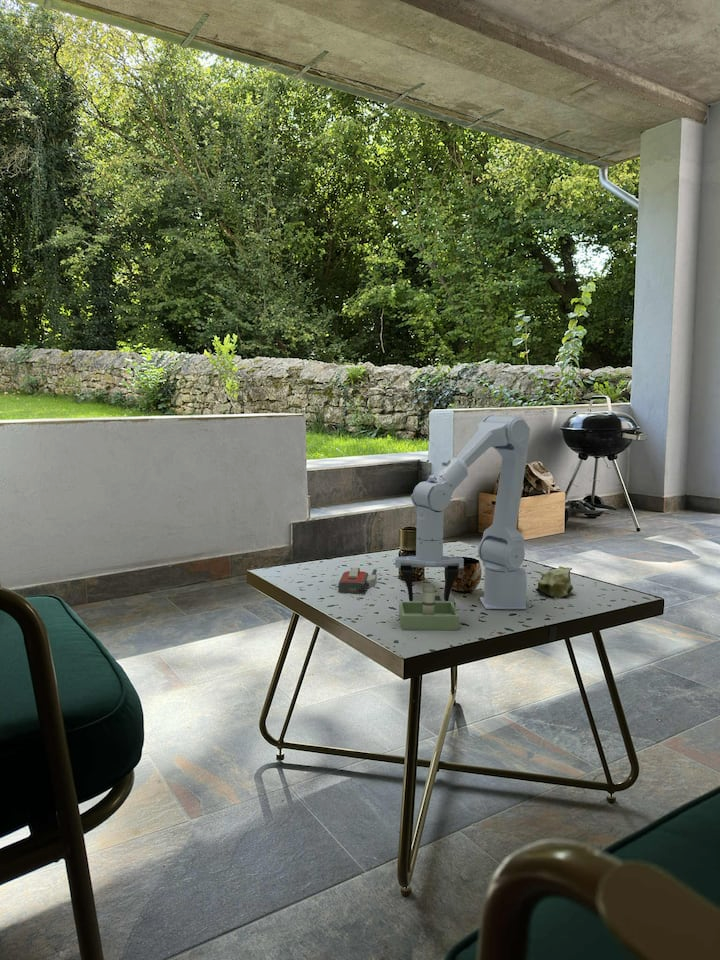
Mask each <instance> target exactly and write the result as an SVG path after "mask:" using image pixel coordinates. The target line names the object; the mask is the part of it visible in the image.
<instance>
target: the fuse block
mask: <svg viewBox="0 0 720 960" xmlns="http://www.w3.org/2000/svg"><path fill="white" fill-rule="evenodd" d="M422 601H423V593H413V601H409V600H408V602H422ZM435 602H453V603H454V605H455V608H456V605H457V603H456V601H455V598H454V596H453V593H450V595H449V601H445V599H444V593H435ZM456 609H457V608H456Z"/></svg>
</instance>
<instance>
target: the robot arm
mask: <svg viewBox="0 0 720 960" xmlns="http://www.w3.org/2000/svg"><path fill="white" fill-rule="evenodd" d="M530 434H531V427H530V426H529V425H528V423H527V421H526V420H525V419H524V418H523V417H521V416H502V415H501V416H499V415H493V414H490V415H487V416H485V417H483V419H482V420H481V421H480V422H479V423H478V424H477V426H476V432H475V433H474V434H473V436H472V437H471V438H470V439H469V441H468V442H467V443H466V444H465V445H464V447H462V449H461V451H460V452H459V453H458V454H457V455H456V457H447V458H444V459H443V460H442V461H441V465H440V466H439V467H438V468H436V470H435V471H434V472H433V473H432V474H431V475H429V477H428V479H427V480H426V481H420V482H419V483H418V484H417V485H415V487H414V489H413V491H412V494H410V499H411V503H412V505H413V506H414V513H415V515H416V532H415V534H416V535H415V536H416V539H415V544H416V545H415V555H410V556H407V555H406V556H395V560H394V561H395V562H394V566H395V568H397V569H400V572H401V574H402V577H403V579H404V583H405V584H406V588H407V593H408V602H409V601H413V594H414V592H413V578H414V572H413V568H444V590H443V591H444V592H443V594H444V599H445V601H449V595H450V594H451V591H452V588H453V586H454V583H455V581H456V579H457V578H458V575H459V573H460V570H459V569H464V565H465V563H464V562H465V559H464V558H463V557H460V556H448V555H443V554H444V553H443V552H444V522H445V521H444V515H445V512H444V511H445V509H446V508H447V507H448V506H449V505H450V503H451V497H452V496H453V493H454V491H455V490H456V489H457V488H458V487H459V486H460V485H461V484H462V483H463V482H464V480H465V479H466V478H467V477H468V475H469V472H468V471H469V467H470V466H472V464H474V463H475V462H476V461H477V460H478V459H479V458H480V457H481V456H482V455H483V454H485V453H486V452H487V451H488V450H489V449H490V448H493V449H494V450H496V451H497V453H498V454H499V455H500V457H501V458H502V459H501V460H502V461H501V466H500V474H499V480H498V486H497V493H496V499H495V506H494V511H493V520H492V524H491V525H490V526H489V527H487V528H486V529H485V530H484V531H483V534H482V538H481V541H480V542H479V544H478V549H477V553H478V558H479V559H480V561H482V566H483V567H484V586H483V587H484V588H483V590H484V591H483V596H480V597H479V600H480V603H481V604H482V605H483V607H484V609H486V610H527V587H528V586H527V584H528V582H527V581H528V580H527V578H528V577H527V573H526V570H525V568H524V567H521V566H522V564H523V562H524V560H525V556H526V555H525V554H526V553H525V552H526V551H525V547H524V545H525V537H524V536H523V534H521V532H520V531H519V530H518V528H517V524H518V517H519V512H520V511H519V510H520V505H521V499H522V492H523V485H524V479H525V473H526V465H527V459H528V453H529V451H528V448H529V447H528V446H529V440H530Z"/></svg>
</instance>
